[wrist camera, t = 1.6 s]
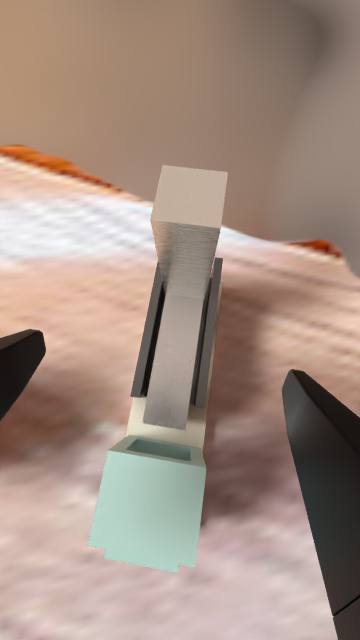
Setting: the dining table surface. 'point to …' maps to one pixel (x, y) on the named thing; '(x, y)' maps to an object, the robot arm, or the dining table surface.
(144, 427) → the base board
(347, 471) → the robot arm
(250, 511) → the dining table surface
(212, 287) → the sleeve
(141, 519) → the socket
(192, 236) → the light grey l-shaped piece
